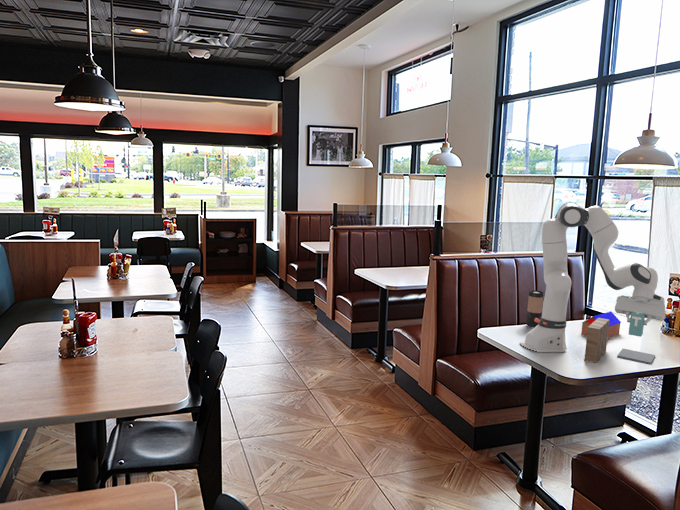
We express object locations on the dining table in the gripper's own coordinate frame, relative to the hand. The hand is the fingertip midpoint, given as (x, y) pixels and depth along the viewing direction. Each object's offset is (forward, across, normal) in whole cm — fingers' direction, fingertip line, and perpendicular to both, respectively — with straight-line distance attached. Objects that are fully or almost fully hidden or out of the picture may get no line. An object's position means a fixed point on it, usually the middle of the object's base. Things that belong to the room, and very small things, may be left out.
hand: (636, 323), depth 236 cm
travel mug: (-8, -54, +36) cm, 65 cm away
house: (-16, -22, +44) cm, 51 cm away
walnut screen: (+13, -16, +14) cm, 25 cm away
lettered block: (+3, 0, +4) cm, 5 cm away
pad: (+5, 0, +23) cm, 23 cm away
